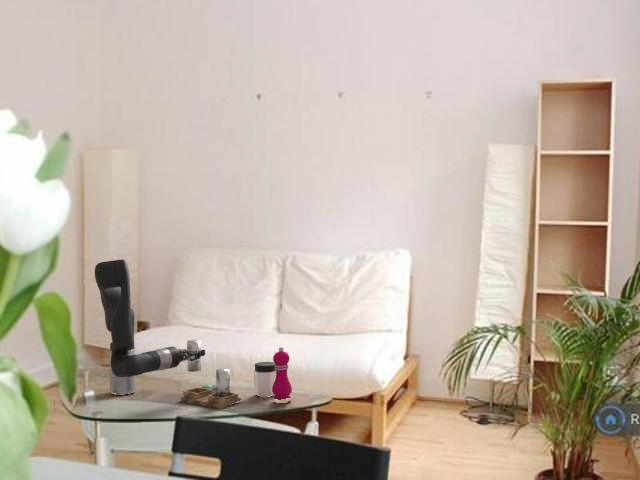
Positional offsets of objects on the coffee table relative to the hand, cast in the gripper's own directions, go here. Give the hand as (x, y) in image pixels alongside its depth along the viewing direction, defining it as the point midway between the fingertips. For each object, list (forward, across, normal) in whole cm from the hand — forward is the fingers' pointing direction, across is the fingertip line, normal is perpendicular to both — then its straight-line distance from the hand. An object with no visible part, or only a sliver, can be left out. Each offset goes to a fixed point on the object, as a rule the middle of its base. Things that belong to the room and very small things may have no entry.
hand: (199, 351), depth 268 cm
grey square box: (+7, +3, +18) cm, 19 cm away
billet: (-3, 0, +6) cm, 7 cm away
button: (+7, +3, +17) cm, 19 cm away
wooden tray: (-1, -7, +18) cm, 19 cm away
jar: (+18, -17, +18) cm, 31 cm away
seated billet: (-1, -13, +16) cm, 21 cm away
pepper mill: (+13, -29, +18) cm, 36 cm away
